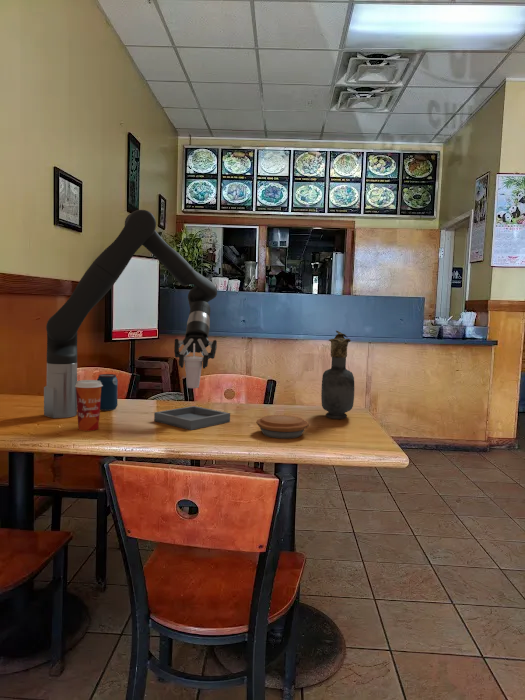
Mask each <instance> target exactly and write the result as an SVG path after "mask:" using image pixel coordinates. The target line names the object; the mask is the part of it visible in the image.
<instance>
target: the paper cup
mask: <svg viewBox="0 0 525 700" xmlns="http://www.w3.org/2000/svg"><path fill="white" fill-rule="evenodd" d="M102 386H103V385H102V384H101V381H98V380H97V379H81V380H77V383H76V385H75V387H76V396H77V427H78V430H79V431H81V432H91V431H97V430H99V425H100V415H101V414H100V412H101V410H100V401H101V387H102Z"/></svg>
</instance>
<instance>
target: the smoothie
mask: <svg viewBox="0 0 525 700" xmlns="http://www.w3.org/2000/svg"><path fill="white" fill-rule="evenodd" d="M203 357H204V356H197V355H196V352H195V343H193V353H192V355H186V357H184V368H185V369H184V371H185V378H186V387H187V388H188V389H199V388H200V381H201V375H202V369H203Z"/></svg>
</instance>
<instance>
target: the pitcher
mask: <svg viewBox="0 0 525 700" xmlns="http://www.w3.org/2000/svg"><path fill="white" fill-rule="evenodd" d="M335 332H336V333H337V334H336V335H335V337H334V338H330V339H328V341H329V342H330V357H331V368H328V369H326V370H325V371H324V372H323V374H322V378H321V391H320V392H321V394H320V395H321V398H320V399H321V406H322V409H323V410H324V411H326V413H325V416H326V417H327V418H328V419H333V420H345V419H346V418H347V417H348V415H347V414H346V413H348V412H350V411H351V410H352V409H353V408H354V402H355V376H354V374H353V372H352V371H351V370H348V369H347V368H346V367H347V366H346V364H347V357H348V345H349V343H350V342H352V340H351V338H348V336H347V334H345V333H343V332H341V331H339V330H335Z"/></svg>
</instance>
